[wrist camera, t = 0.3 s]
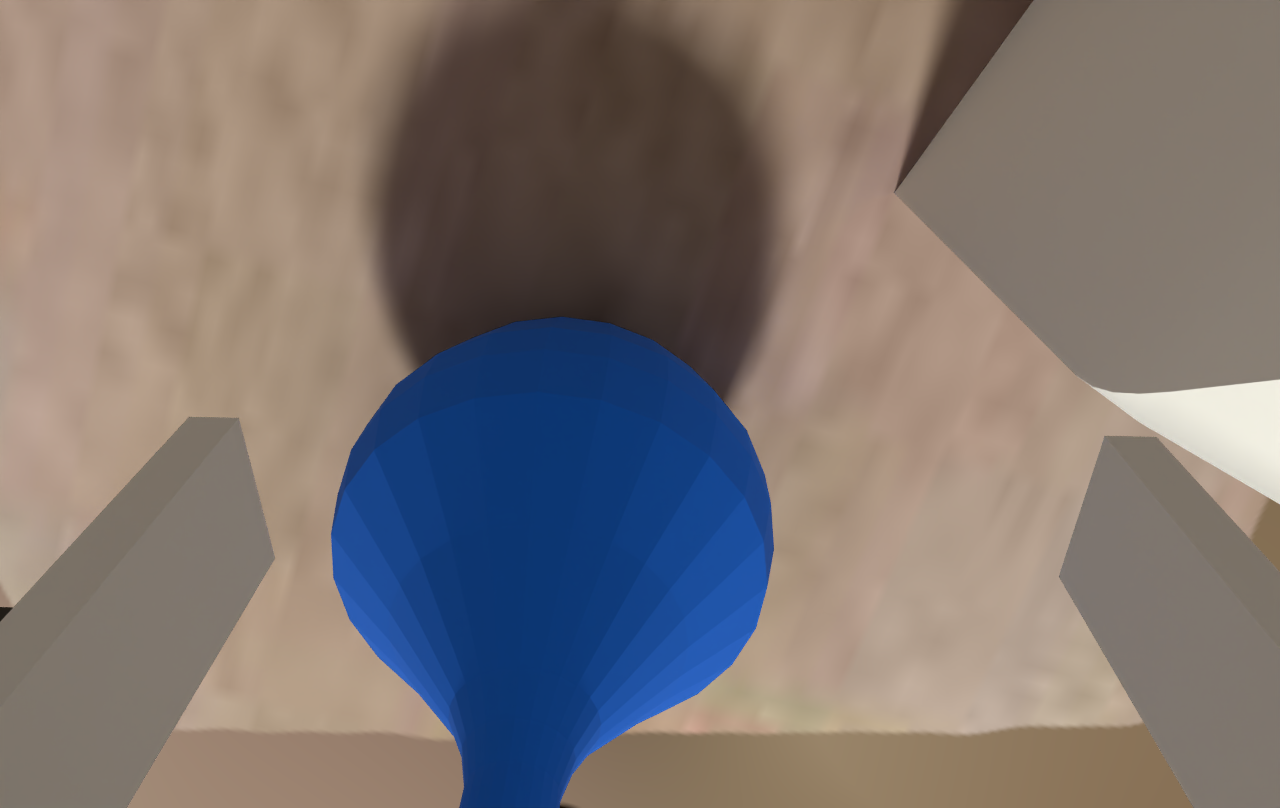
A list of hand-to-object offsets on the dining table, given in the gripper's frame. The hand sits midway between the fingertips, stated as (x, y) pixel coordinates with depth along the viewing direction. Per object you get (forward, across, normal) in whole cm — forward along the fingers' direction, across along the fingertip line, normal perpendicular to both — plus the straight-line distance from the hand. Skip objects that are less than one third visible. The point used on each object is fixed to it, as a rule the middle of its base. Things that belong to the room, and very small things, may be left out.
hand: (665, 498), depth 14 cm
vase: (+28, -4, -16) cm, 32 cm away
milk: (+28, +18, -1) cm, 33 cm away
